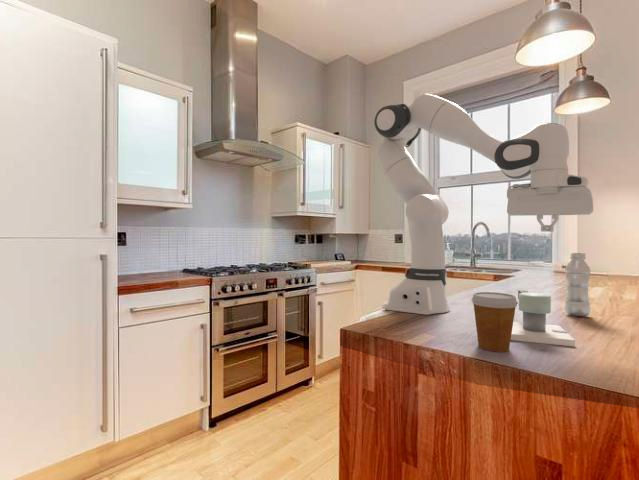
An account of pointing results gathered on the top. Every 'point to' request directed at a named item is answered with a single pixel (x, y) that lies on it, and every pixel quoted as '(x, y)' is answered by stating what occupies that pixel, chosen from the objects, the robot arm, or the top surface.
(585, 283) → the plastic bottle
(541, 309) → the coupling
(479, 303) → the disposable coffee cup
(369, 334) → the top surface
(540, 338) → the lock base
